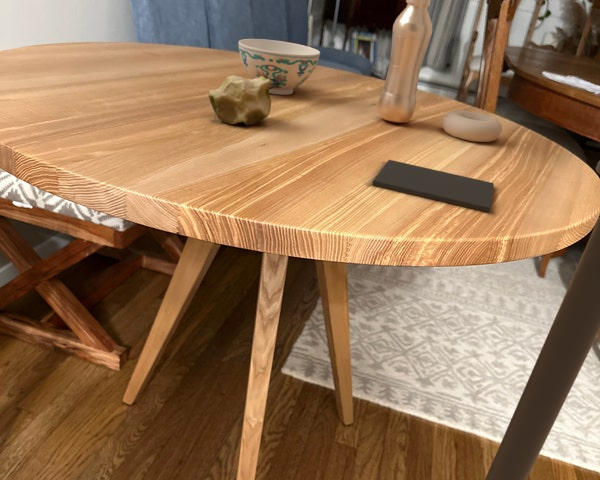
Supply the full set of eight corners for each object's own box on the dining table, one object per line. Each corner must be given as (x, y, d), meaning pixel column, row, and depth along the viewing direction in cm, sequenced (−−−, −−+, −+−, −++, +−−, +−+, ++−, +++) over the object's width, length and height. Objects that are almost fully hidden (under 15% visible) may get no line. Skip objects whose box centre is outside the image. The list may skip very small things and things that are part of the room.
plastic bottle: (374, 123, 95) (400, -12, 85) (375, 114, 101) (399, -13, 91) (412, 129, 95) (443, -5, 85) (410, 119, 101) (439, -7, 91)
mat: (492, 187, 74) (493, 183, 73) (489, 212, 65) (490, 207, 65) (387, 163, 77) (388, 159, 76) (371, 185, 68) (372, 180, 68)
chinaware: (328, 94, 110) (334, 52, 106) (287, 104, 99) (293, 57, 95) (264, 78, 116) (268, 37, 112) (219, 85, 105) (221, 40, 101)
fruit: (272, 126, 90) (286, 77, 85) (252, 145, 83) (266, 92, 78) (220, 104, 91) (230, 54, 86) (195, 121, 83) (205, 67, 78)
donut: (431, 134, 94) (490, 148, 90) (436, 113, 93) (496, 126, 89) (450, 125, 102) (505, 138, 98) (455, 105, 100) (511, 117, 96)
